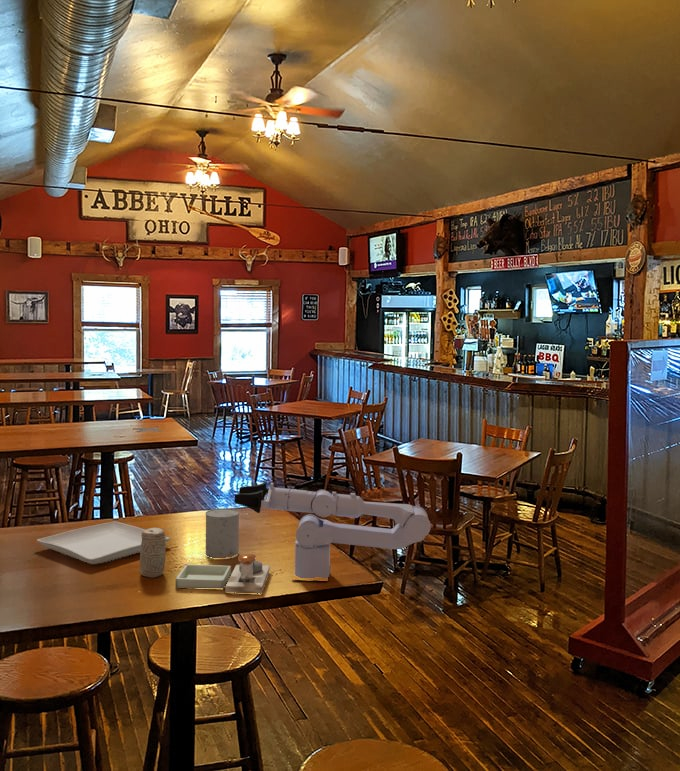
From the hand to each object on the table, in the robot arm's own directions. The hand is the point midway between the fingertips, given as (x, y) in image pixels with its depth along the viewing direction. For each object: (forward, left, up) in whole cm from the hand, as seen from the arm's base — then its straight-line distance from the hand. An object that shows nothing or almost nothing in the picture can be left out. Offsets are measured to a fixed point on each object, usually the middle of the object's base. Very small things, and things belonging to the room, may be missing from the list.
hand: (237, 494), depth 193 cm
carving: (+22, +2, -22) cm, 31 cm away
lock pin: (-4, +9, -22) cm, 24 cm away
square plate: (+42, -18, -22) cm, 51 cm away
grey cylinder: (+7, -16, -22) cm, 28 cm away
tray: (+7, +6, -22) cm, 24 cm away
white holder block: (-4, +6, -22) cm, 23 cm away
